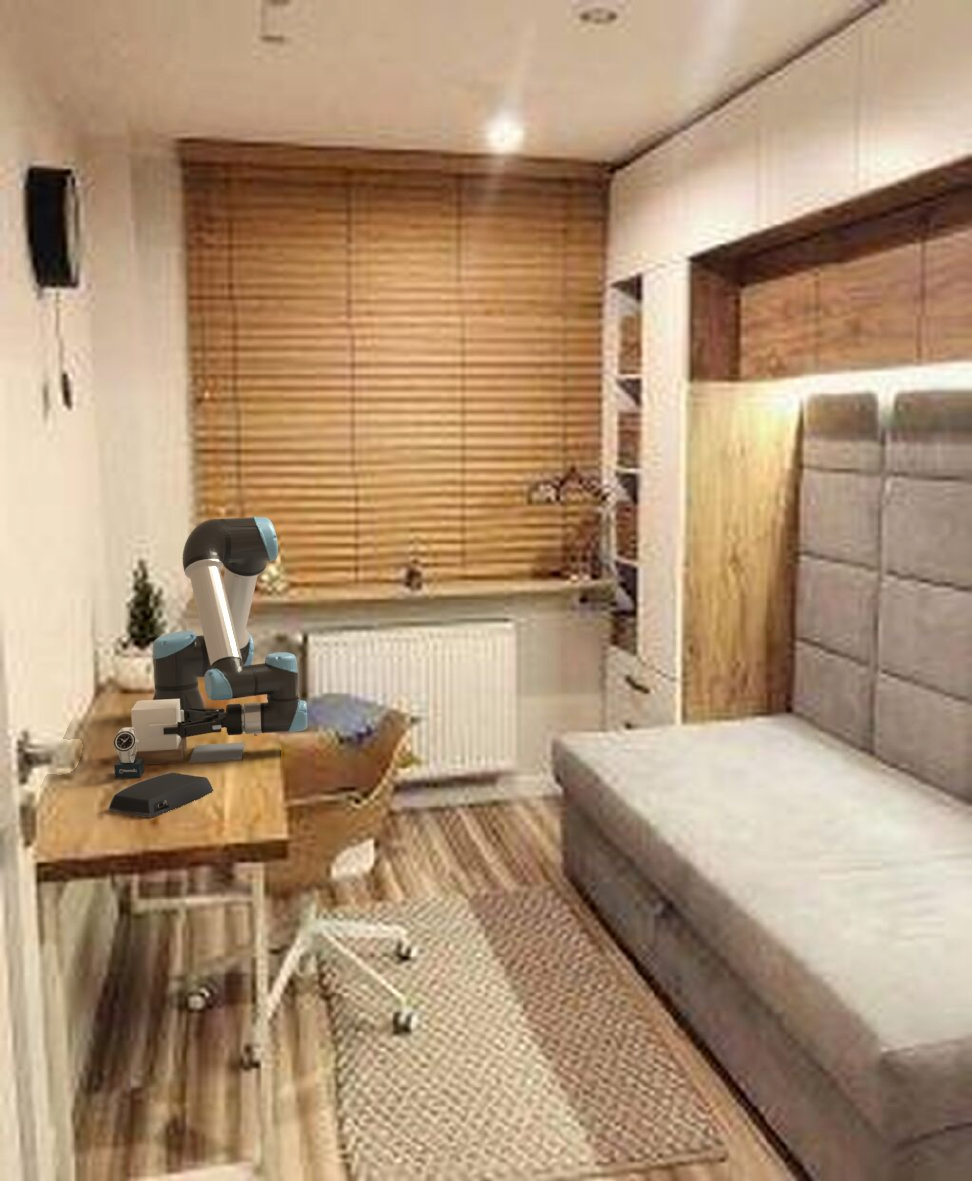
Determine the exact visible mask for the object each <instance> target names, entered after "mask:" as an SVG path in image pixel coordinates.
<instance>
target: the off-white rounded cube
mask: <svg viewBox="0 0 972 1181" xmlns="http://www.w3.org/2000/svg"><path fill="white" fill-rule="evenodd" d="M130 715H131V717H130V718H131V727H134V729H135V733H136V740H138V743H137V749H136V750H137V751H154V750H172V749H177V748H178V746H179V743H180V741H181V739H182V738H180V736H178V735H175V736H156V737H149V725H156V724H175V723H177V722H181V715H180V699H164V700H153V699H147V700H136V702H135V704H134V705H133V706H132V708H131V711H130Z"/></svg>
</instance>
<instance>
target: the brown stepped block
mask: <svg viewBox="0 0 972 1181" xmlns="http://www.w3.org/2000/svg"><path fill="white" fill-rule="evenodd" d="M187 742H188V741H187V737H184V738H182V739H181V741H180V743H179V746H178V748H177V749H172V750H154V751H137V752H136V756H135V759H143V761H144V765H160V764H178V763H179V764H180V763H182V762H183V759H184V757H185V755H186V752H187V750H188V744H187Z"/></svg>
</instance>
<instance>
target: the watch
mask: <svg viewBox="0 0 972 1181" xmlns="http://www.w3.org/2000/svg"><path fill="white" fill-rule="evenodd" d="M137 743H138V740H136V733H135V729H134V727H132V726H131V727H122V728H121V729H120V730H119V731H118V732H117V734H116V735H115V736H114V739H113V746H114V749H115V750H116V754H117V756H119V759H118V760H117V761H116V763H114V766H113V767H114V779H131V778H132V779H134V778H137V779H138V778H141V777H142V776H143V774H144V773H145V764H144V761H143V759H135V756H136V752H137V750H136V749H137Z"/></svg>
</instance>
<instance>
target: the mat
mask: <svg viewBox="0 0 972 1181" xmlns="http://www.w3.org/2000/svg"><path fill="white" fill-rule="evenodd" d="M245 745H246V744H245V742H228V743H226V742H224V743H211V744H210V743H206V744H195V746H194V747H193V750H192V753H191V756H190V758H189V764H195V763H196V764H197V763H212V762H214V763H216V762H232V761H234V762H235V761H242V758H243V754H244V750H245Z"/></svg>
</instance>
